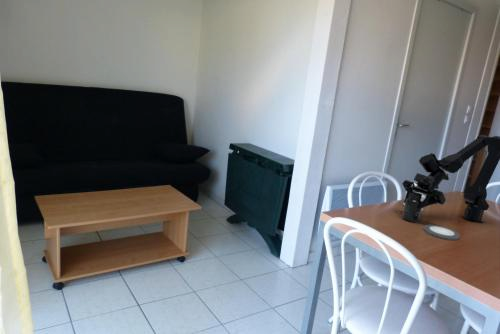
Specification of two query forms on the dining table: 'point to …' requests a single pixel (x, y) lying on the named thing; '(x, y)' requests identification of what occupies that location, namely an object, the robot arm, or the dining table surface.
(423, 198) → the medicine bottle
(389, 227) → the dining table surface
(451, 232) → the trivet
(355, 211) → the dining table surface
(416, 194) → the supplement bottle
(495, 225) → the dining table surface
